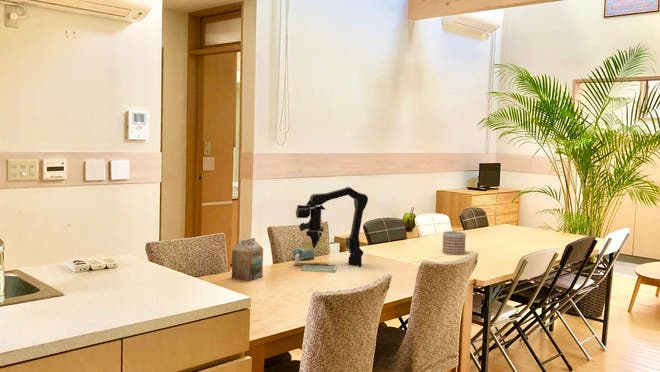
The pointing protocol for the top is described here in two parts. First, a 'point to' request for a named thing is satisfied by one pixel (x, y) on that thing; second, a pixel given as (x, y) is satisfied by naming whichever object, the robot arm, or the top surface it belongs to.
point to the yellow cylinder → (318, 246)
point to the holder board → (312, 264)
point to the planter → (454, 243)
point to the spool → (304, 253)
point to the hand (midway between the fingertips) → (314, 246)
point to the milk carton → (247, 260)
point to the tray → (319, 268)
